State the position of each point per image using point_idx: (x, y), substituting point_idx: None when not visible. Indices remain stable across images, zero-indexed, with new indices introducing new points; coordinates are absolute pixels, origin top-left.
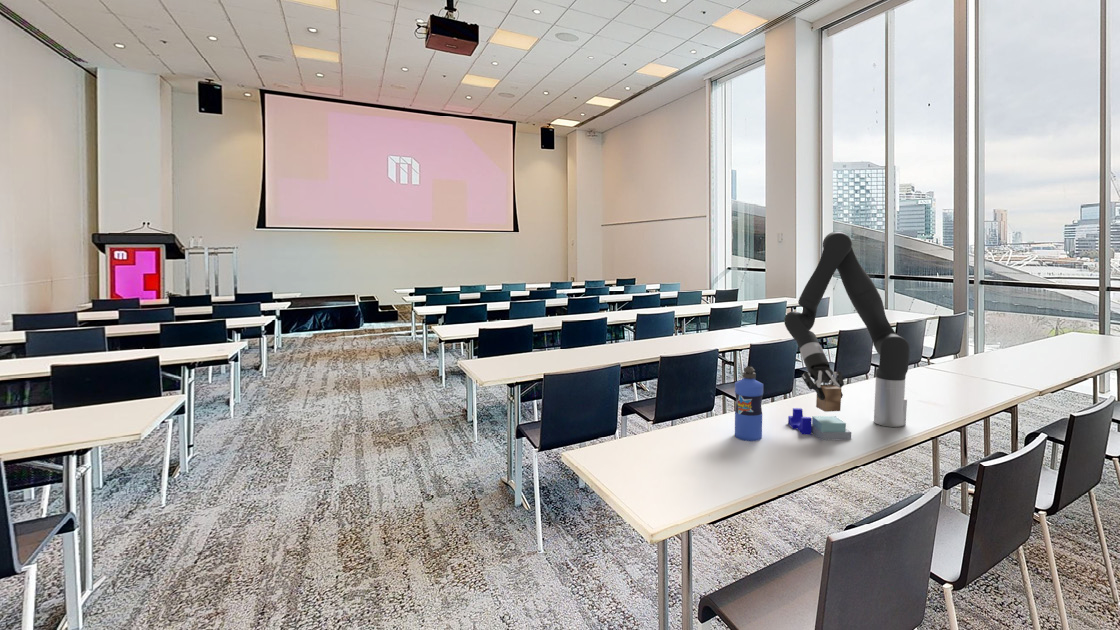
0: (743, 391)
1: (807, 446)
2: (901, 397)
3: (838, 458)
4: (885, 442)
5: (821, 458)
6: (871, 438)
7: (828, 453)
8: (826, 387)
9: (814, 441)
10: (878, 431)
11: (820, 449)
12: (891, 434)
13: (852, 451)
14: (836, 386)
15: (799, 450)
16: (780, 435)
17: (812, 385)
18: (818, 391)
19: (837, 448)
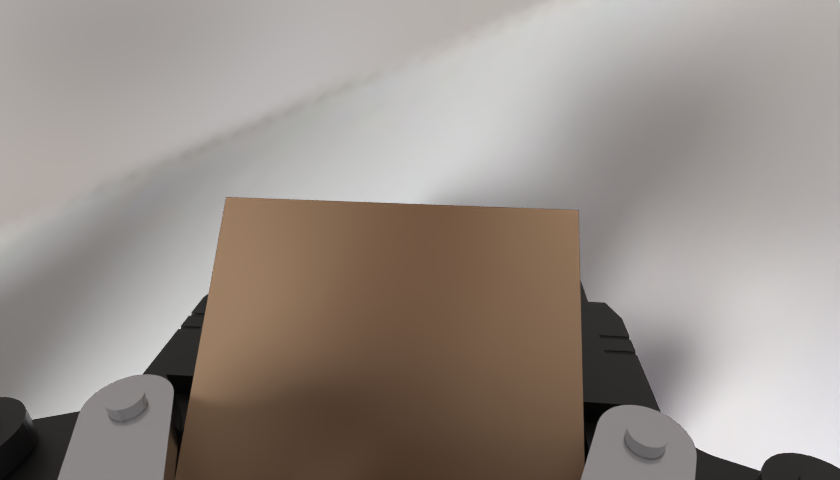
0: None
1: (698, 201)
2: None
3: (608, 14)
4: (170, 179)
5: (704, 26)
6: (193, 257)
7: (624, 81)
8: (493, 324)
9: (603, 277)
10: (32, 375)
11: (639, 143)
12: (7, 301)
13: (467, 87)
14: (206, 366)
15: (783, 149)
16: (808, 452)
17: (837, 477)
18: (641, 376)
19: (524, 140)
